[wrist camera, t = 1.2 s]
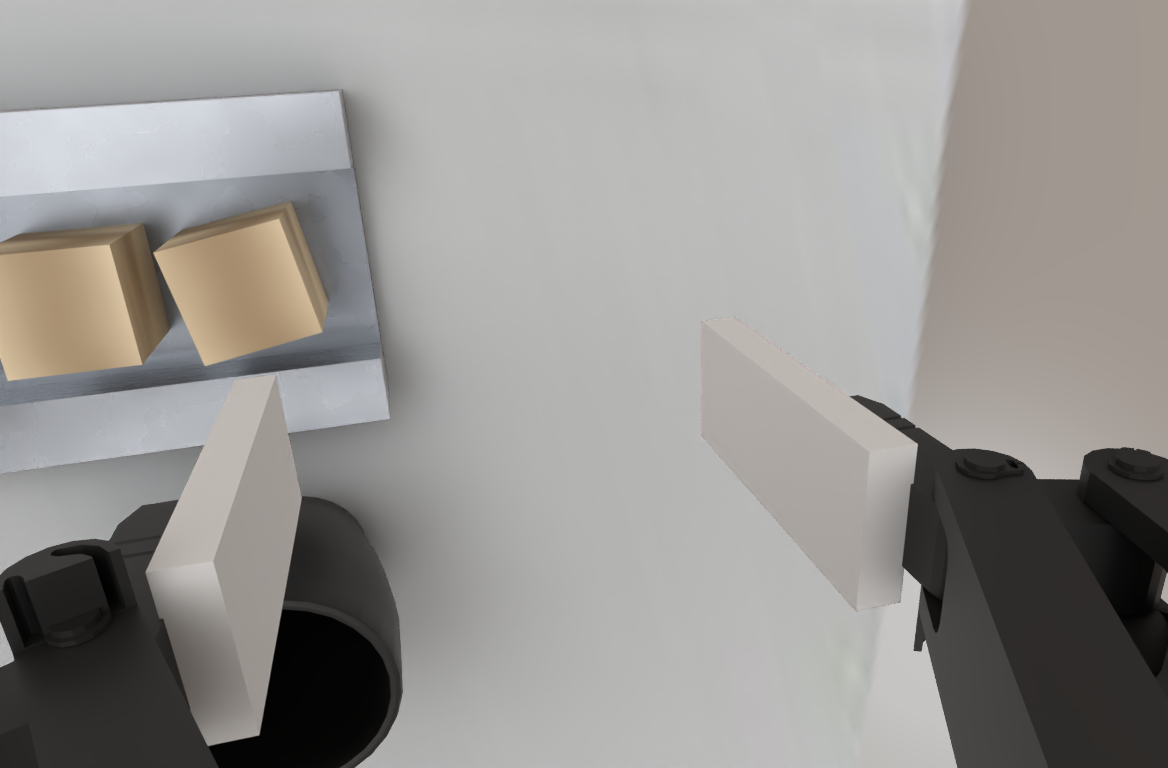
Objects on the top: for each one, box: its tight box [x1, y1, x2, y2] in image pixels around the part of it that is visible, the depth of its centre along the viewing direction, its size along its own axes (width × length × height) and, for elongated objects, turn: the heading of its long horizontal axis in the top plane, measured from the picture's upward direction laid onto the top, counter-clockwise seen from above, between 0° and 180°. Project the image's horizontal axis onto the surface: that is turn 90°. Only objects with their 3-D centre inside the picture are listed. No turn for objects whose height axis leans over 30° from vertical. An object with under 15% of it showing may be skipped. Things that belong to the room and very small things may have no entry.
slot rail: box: [0, 90, 390, 474], centre depth 29 cm, size 15×12×3 cm
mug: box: [208, 497, 403, 768], centre depth 31 cm, size 8×12×10 cm
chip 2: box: [154, 201, 329, 366], centre depth 29 cm, size 4×4×4 cm
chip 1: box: [0, 223, 170, 381], centre depth 28 cm, size 4×4×4 cm
